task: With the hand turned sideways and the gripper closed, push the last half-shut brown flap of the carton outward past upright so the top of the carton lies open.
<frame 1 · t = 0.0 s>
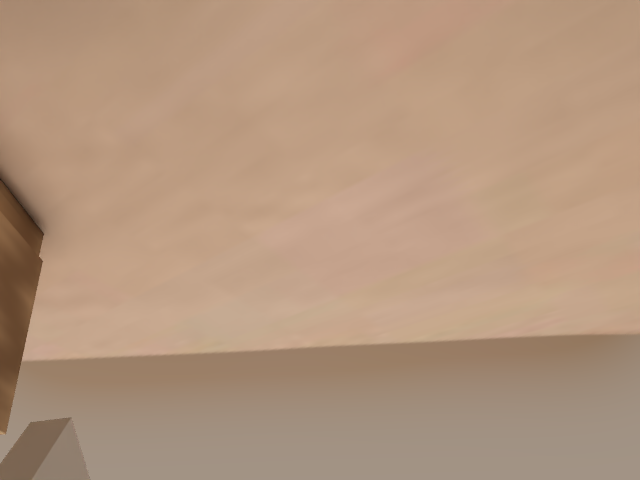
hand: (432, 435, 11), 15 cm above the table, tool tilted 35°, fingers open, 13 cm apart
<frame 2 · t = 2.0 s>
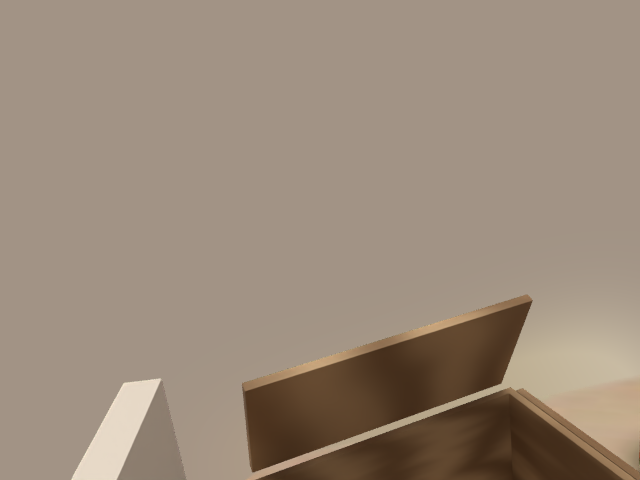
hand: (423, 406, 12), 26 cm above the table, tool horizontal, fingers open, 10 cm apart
carton flap: (390, 383, 35), point 14 cm above the table, hinge at 65.0°
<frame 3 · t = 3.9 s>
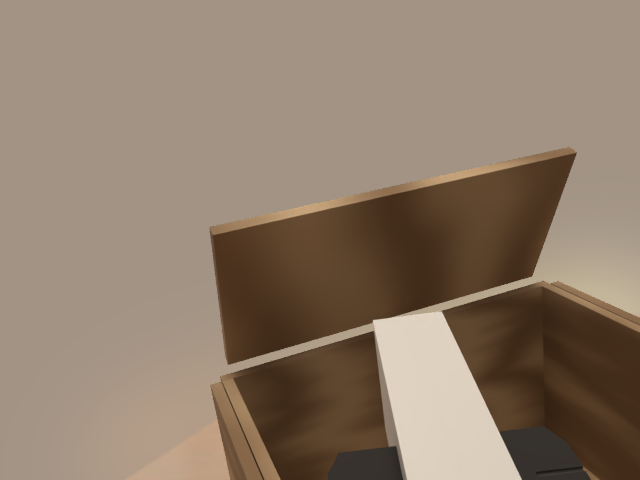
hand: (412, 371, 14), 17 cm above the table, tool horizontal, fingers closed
carton flap: (398, 255, 28), point 14 cm above the table, hinge at 65.0°
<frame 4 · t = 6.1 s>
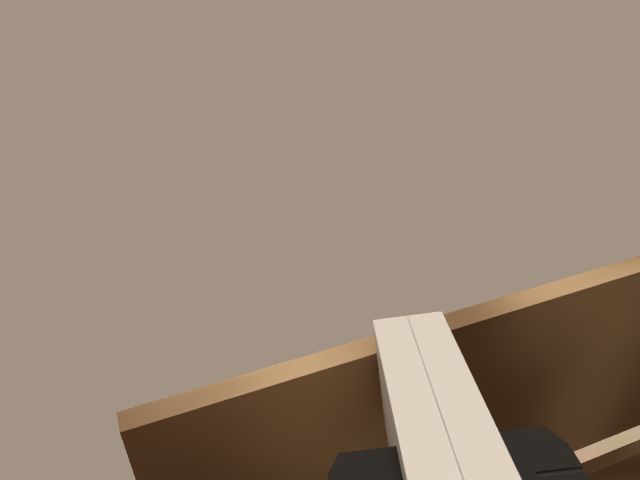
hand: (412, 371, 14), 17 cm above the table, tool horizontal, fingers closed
carton flap: (464, 415, 17), point 14 cm above the table, hinge at 69.6°, touching gripper
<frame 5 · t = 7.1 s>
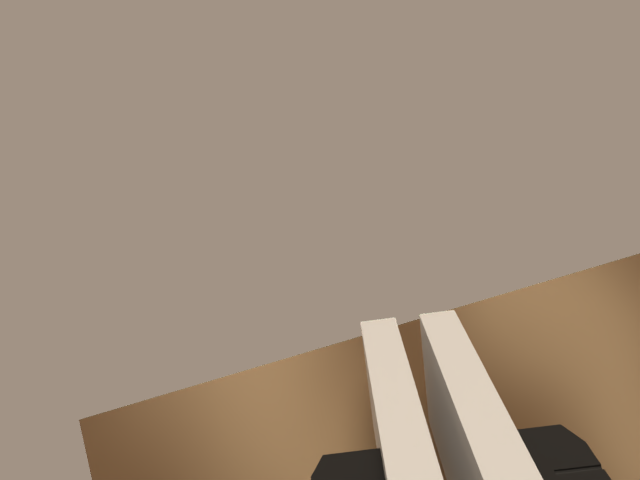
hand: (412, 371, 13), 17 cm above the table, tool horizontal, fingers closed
carton flap: (486, 475, 15), point 14 cm above the table, hinge at 118.8°, touching gripper
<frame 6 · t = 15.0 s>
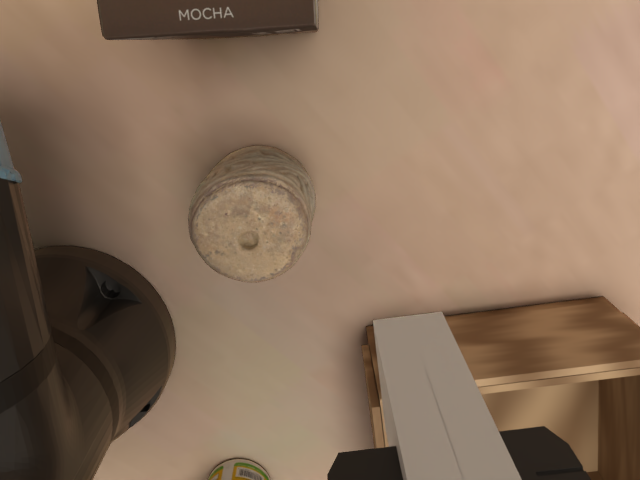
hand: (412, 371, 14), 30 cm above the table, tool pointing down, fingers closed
carving: (262, 183, 43), on the table
carton: (488, 401, 49), on the table
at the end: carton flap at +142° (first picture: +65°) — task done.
